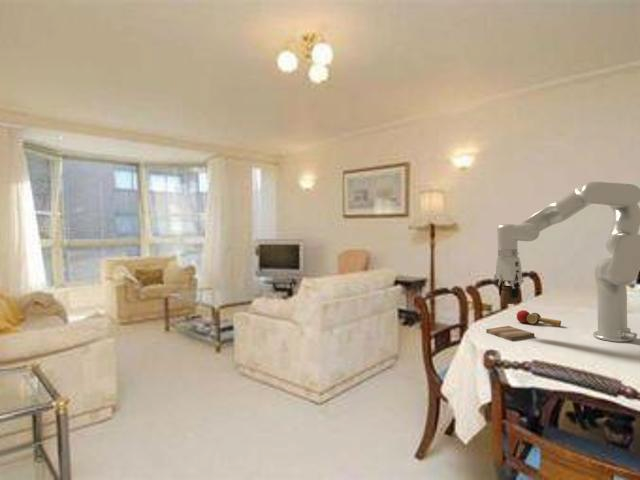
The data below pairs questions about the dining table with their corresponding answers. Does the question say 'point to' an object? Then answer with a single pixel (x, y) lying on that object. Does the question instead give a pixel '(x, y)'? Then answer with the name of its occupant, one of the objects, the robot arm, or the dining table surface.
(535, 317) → the kendama
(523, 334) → the board
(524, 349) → the dining table surface
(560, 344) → the dining table surface
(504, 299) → the utensil holder
